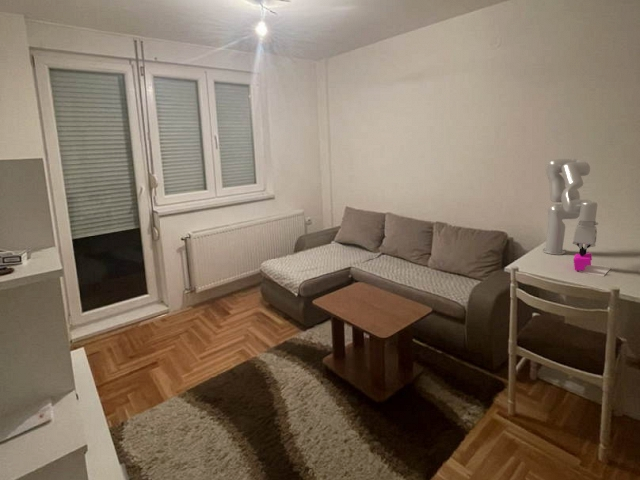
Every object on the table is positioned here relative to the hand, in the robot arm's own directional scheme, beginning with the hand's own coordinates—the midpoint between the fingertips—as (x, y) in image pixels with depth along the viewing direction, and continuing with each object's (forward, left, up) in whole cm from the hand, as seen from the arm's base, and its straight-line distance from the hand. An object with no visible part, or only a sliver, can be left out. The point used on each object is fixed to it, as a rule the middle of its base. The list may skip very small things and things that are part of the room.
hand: (582, 255), depth 214 cm
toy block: (+2, -3, -4) cm, 5 cm away
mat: (0, +7, -7) cm, 10 cm away
